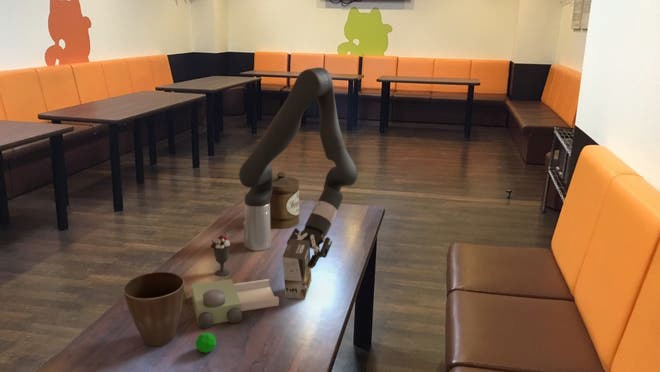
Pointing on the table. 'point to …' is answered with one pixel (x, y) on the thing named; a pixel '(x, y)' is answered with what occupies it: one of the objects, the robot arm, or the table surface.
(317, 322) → the table surface
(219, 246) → the sundae
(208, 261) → the table surface
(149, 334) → the plant pot
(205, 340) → the polyhedron
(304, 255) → the coffee box
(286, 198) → the wooden container
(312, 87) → the robot arm
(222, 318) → the toy front loader
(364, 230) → the table surface
